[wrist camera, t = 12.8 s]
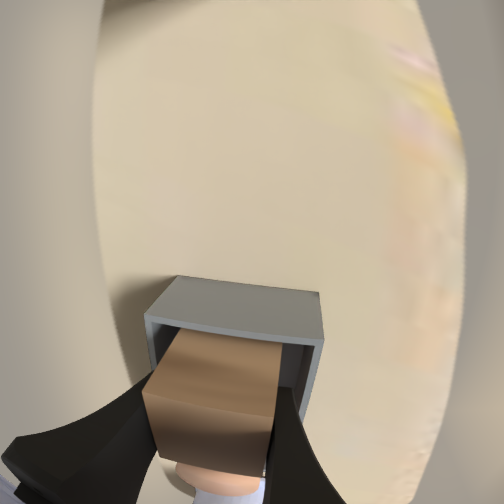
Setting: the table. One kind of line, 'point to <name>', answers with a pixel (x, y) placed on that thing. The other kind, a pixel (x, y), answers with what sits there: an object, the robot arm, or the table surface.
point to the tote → (244, 324)
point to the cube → (214, 401)
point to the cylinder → (217, 481)
